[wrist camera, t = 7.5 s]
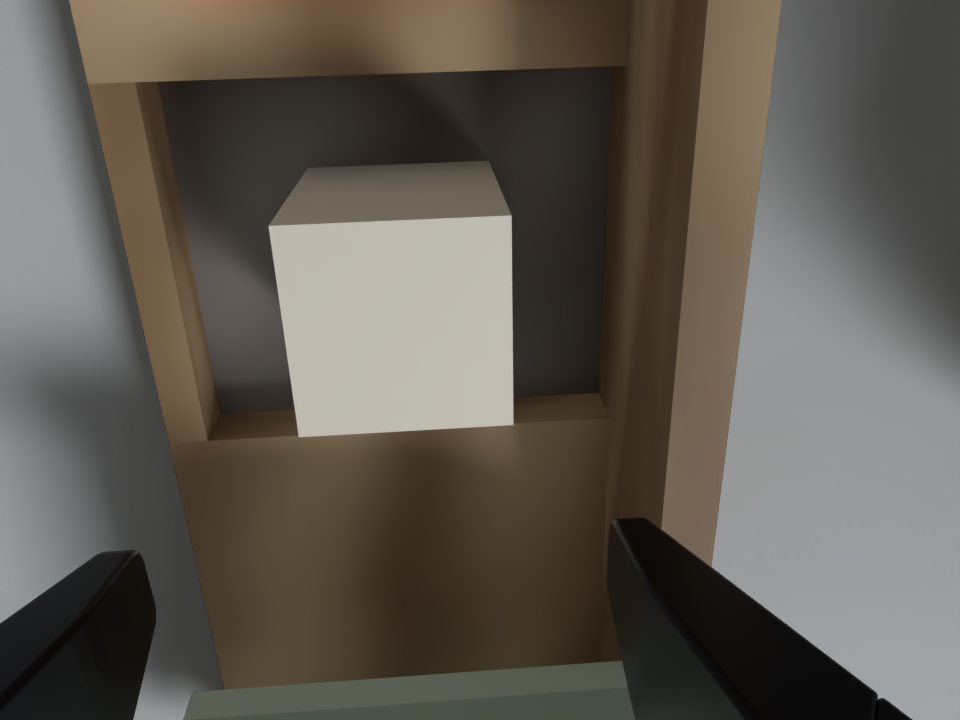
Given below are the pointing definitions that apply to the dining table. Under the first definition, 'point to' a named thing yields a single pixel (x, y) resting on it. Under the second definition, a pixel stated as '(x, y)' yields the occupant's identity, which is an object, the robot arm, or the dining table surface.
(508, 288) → the cream block
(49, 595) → the robot arm
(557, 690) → the sage cover
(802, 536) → the dining table surface
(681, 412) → the puzzle board
